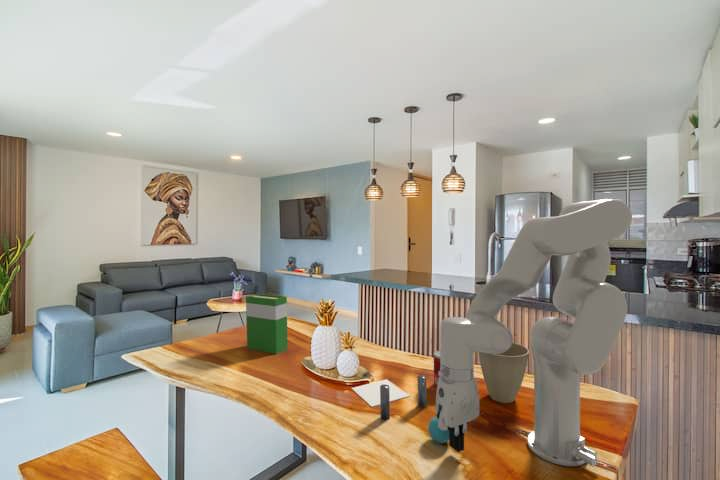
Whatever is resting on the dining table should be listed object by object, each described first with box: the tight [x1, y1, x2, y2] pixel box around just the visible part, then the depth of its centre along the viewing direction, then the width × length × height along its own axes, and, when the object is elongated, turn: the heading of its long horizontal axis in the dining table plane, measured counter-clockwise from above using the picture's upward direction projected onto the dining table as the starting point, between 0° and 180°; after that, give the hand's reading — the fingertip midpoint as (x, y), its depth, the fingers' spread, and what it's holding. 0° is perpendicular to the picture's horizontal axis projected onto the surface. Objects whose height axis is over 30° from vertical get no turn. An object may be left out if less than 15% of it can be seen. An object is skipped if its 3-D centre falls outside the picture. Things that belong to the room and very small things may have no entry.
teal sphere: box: [428, 416, 449, 444], centre depth 87 cm, size 6×6×6 cm
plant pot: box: [478, 342, 530, 404], centre depth 109 cm, size 15×15×16 cm
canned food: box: [433, 350, 440, 388], centre depth 117 cm, size 8×8×11 cm
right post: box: [417, 374, 428, 409], centre depth 104 cm, size 3×3×9 cm
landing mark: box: [351, 379, 411, 408], centre depth 114 cm, size 14×14×1 cm
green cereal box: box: [245, 293, 289, 355], centre depth 158 cm, size 18×7×24 cm, turn 62°
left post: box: [379, 384, 391, 421], centre depth 98 cm, size 3×3×9 cm
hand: (456, 448), depth 82 cm, fingers closed
